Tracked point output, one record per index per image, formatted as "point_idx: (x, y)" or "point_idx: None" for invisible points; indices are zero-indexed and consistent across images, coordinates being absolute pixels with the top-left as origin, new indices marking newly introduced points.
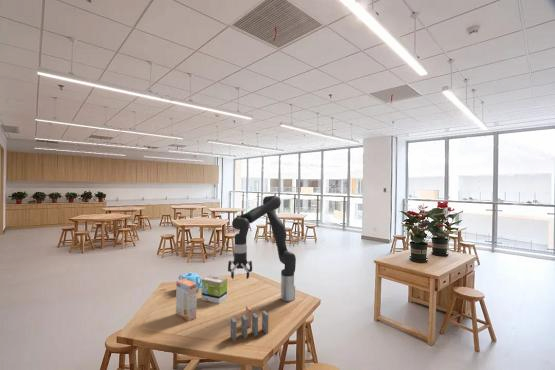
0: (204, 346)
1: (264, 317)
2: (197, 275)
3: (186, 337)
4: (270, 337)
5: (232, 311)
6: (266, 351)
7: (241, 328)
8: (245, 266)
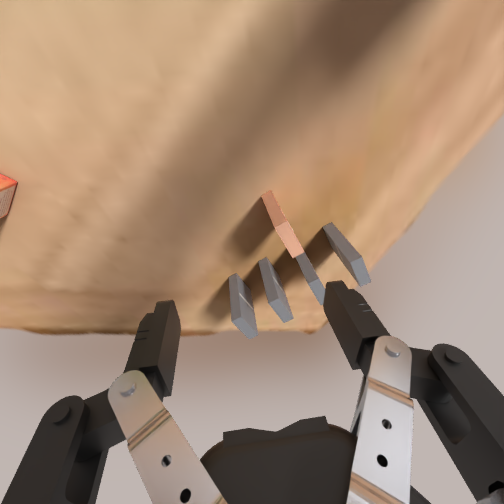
0: None
1: (350, 269)
2: None
3: (95, 297)
4: None
5: (163, 79)
6: None
7: (261, 272)
8: (383, 419)
